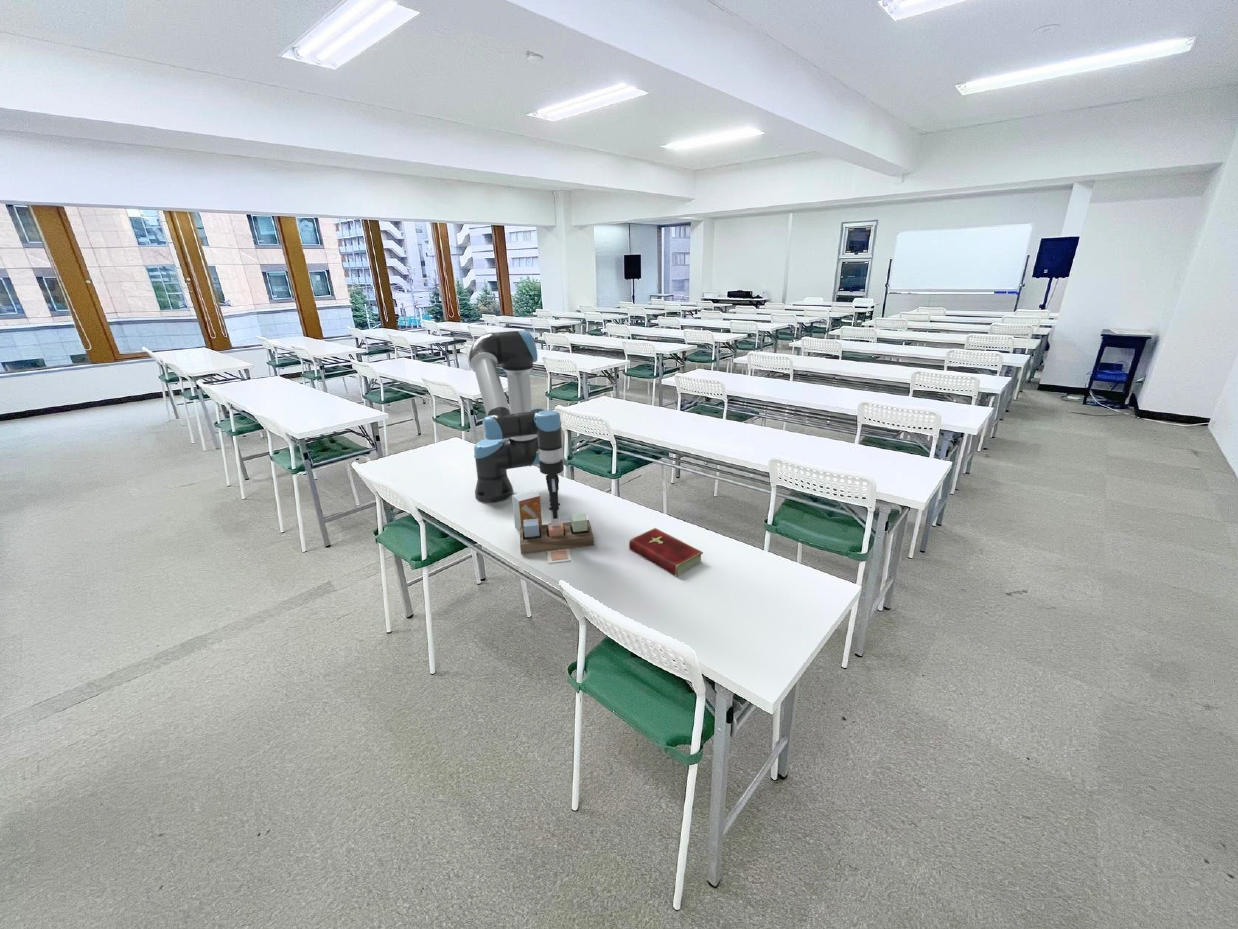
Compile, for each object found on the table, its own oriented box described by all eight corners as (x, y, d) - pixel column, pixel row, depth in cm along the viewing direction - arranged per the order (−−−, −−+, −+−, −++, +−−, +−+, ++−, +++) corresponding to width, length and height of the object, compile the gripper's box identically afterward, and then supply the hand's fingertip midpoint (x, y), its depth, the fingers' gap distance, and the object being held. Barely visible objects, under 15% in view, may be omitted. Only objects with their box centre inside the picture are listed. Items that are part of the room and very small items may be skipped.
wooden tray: (520, 536, 171) (519, 527, 170) (589, 528, 176) (588, 519, 174) (521, 554, 160) (520, 544, 159) (594, 545, 165) (593, 536, 163)
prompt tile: (547, 552, 161) (547, 550, 161) (568, 549, 163) (568, 548, 162) (548, 563, 155) (548, 562, 155) (571, 561, 156) (571, 559, 156)
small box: (521, 535, 172) (518, 501, 167) (514, 527, 177) (511, 494, 172) (543, 528, 176) (540, 495, 171) (535, 521, 181) (532, 489, 176)
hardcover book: (676, 578, 148) (676, 566, 146) (629, 550, 163) (629, 539, 161) (702, 563, 155) (703, 551, 153) (655, 538, 170) (655, 527, 168)
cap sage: (571, 527, 170) (571, 514, 168) (585, 526, 171) (585, 513, 169) (573, 534, 166) (572, 521, 164) (587, 532, 166) (587, 519, 165)
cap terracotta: (548, 536, 169) (547, 523, 168) (562, 534, 170) (562, 521, 168) (549, 543, 165) (548, 530, 163) (564, 541, 166) (563, 528, 164)
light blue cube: (524, 532, 167) (523, 519, 165) (538, 531, 168) (537, 518, 166) (524, 539, 163) (523, 526, 161) (539, 538, 164) (538, 525, 162)
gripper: (538, 453, 162) (543, 517, 171) (540, 468, 150) (545, 536, 159) (561, 451, 164) (564, 515, 172) (564, 466, 152) (568, 533, 161)
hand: (555, 525), depth 166 cm, fingers closed
